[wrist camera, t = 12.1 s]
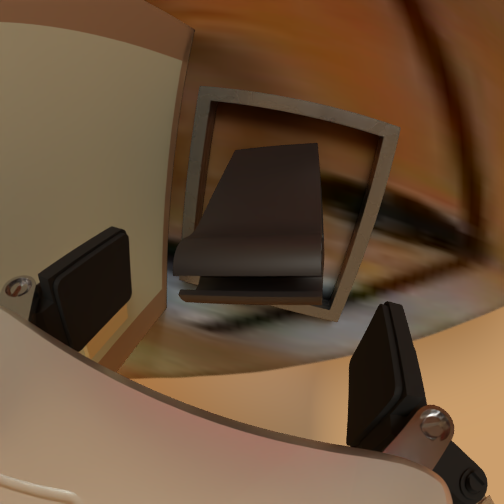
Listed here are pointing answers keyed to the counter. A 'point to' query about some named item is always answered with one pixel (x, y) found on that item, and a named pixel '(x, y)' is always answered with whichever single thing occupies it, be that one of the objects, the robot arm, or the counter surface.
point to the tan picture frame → (90, 143)
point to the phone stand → (260, 232)
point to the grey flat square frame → (385, 131)
